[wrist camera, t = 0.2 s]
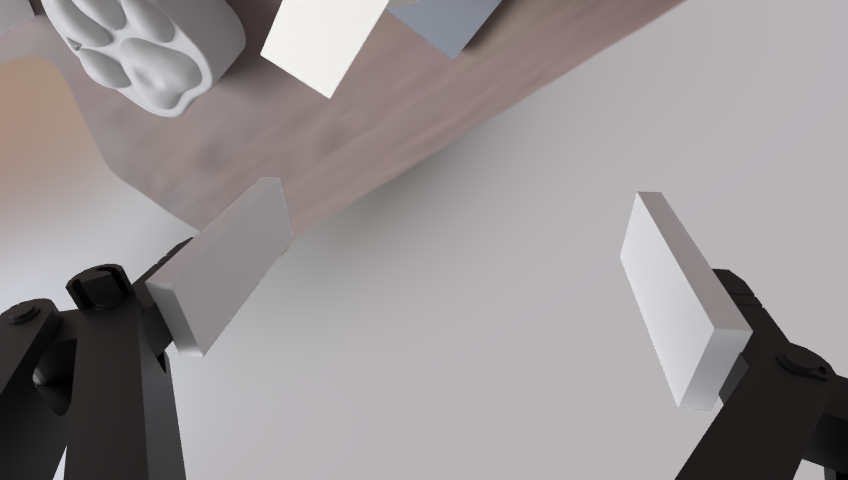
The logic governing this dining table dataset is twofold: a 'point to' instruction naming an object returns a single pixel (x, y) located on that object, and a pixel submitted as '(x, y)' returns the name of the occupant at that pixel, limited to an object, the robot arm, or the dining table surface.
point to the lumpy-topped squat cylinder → (152, 46)
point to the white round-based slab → (322, 37)
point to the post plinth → (446, 21)
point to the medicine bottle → (14, 14)
